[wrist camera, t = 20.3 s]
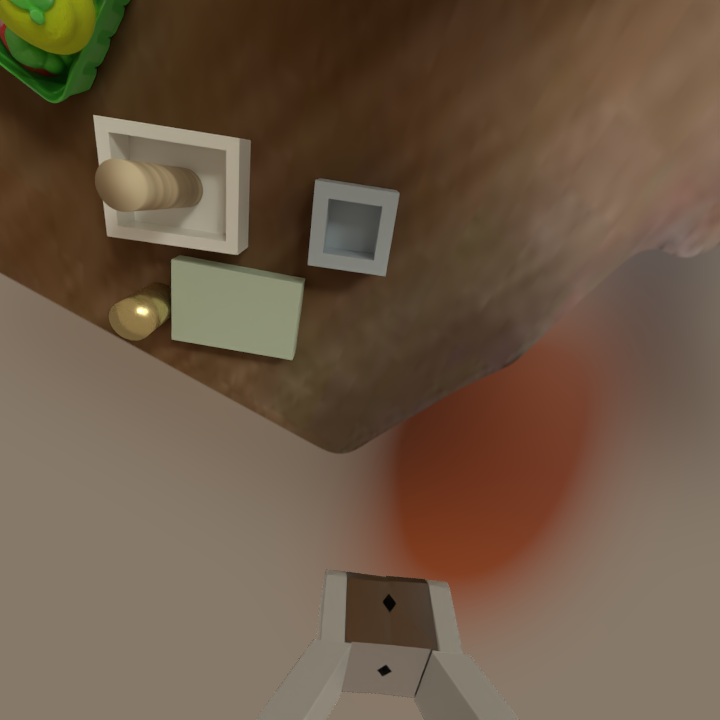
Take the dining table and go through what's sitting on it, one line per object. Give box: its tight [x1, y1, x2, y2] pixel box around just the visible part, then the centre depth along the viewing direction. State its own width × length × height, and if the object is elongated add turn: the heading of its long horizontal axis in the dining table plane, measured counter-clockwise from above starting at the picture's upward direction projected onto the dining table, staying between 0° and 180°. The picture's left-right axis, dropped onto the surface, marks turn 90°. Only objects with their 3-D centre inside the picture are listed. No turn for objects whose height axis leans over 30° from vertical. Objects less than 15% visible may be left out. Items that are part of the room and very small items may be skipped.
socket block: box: [308, 178, 400, 276], centre depth 36 cm, size 7×7×4 cm
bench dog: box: [109, 283, 172, 341], centre depth 39 cm, size 4×4×6 cm
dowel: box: [95, 159, 203, 212], centre depth 32 cm, size 3×3×10 cm
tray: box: [93, 115, 251, 255], centre depth 35 cm, size 11×9×4 cm
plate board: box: [171, 255, 305, 360], centre depth 41 cm, size 12×8×2 cm, turn 79°
